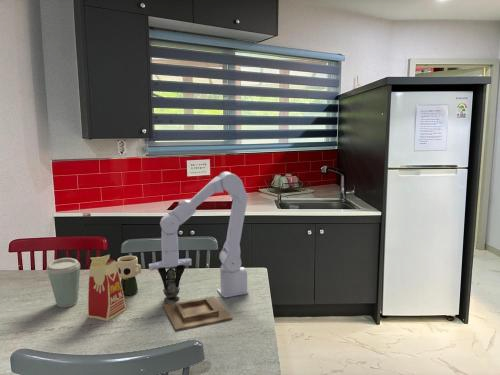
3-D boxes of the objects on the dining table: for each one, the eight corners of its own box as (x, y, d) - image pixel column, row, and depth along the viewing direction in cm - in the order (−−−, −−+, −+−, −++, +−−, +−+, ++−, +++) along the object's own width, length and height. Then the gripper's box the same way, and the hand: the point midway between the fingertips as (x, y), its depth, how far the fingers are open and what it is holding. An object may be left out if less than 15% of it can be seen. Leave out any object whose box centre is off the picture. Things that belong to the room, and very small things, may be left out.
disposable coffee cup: (88, 303, 138) (85, 261, 136) (56, 313, 130) (53, 269, 128) (75, 295, 145) (72, 255, 143) (43, 304, 137) (40, 262, 135)
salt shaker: (176, 303, 138) (175, 269, 136) (160, 301, 139) (159, 268, 137) (182, 296, 143) (181, 264, 142) (167, 295, 144) (166, 263, 143)
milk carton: (126, 309, 133) (123, 251, 130) (108, 321, 125) (104, 259, 122) (104, 305, 136) (100, 248, 133) (84, 317, 128) (80, 256, 125)
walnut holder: (214, 297, 142) (214, 292, 142) (232, 319, 126) (232, 313, 125) (163, 306, 135) (163, 301, 135) (175, 331, 118) (175, 324, 118)
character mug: (110, 294, 145) (108, 260, 143) (122, 287, 152) (120, 254, 150) (136, 298, 142) (134, 263, 140) (147, 290, 148) (146, 257, 146)
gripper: (187, 244, 145) (188, 280, 147) (146, 249, 139) (148, 286, 141) (192, 249, 138) (193, 286, 140) (150, 254, 133) (151, 293, 135)
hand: (171, 287), depth 140 cm, fingers closed on salt shaker, 3 cm apart
